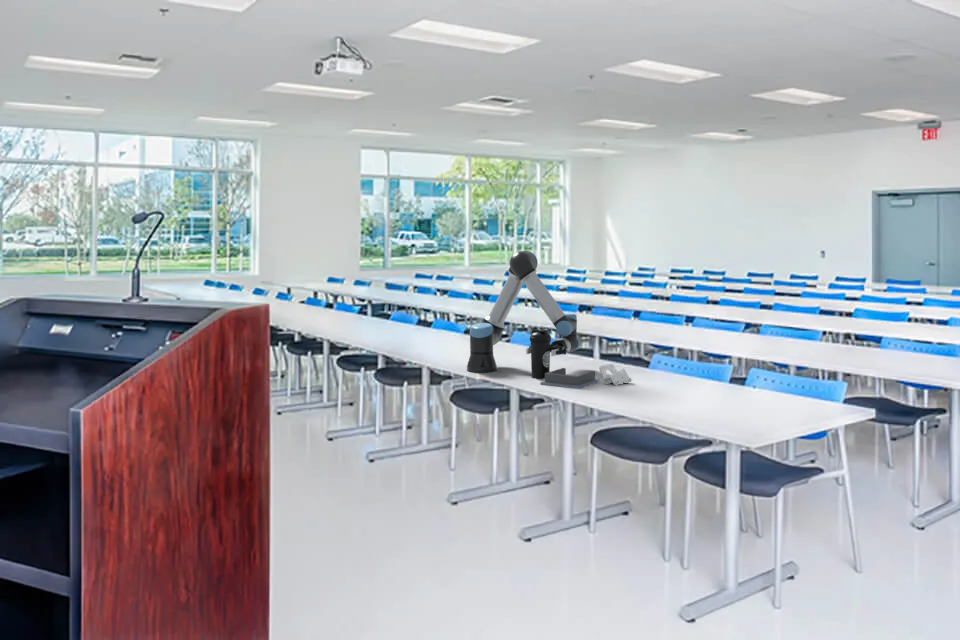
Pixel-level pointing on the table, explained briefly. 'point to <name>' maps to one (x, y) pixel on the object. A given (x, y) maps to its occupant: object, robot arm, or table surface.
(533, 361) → the water bottle
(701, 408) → the table surface
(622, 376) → the mounting bracket
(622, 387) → the table surface
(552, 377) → the walled base tray
